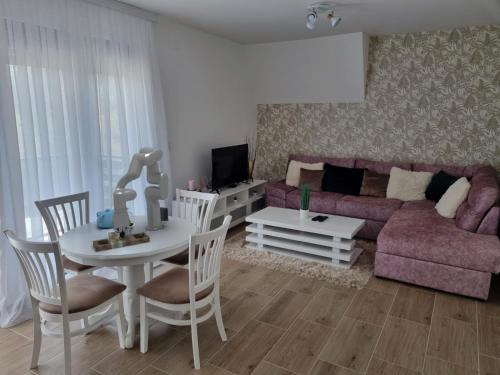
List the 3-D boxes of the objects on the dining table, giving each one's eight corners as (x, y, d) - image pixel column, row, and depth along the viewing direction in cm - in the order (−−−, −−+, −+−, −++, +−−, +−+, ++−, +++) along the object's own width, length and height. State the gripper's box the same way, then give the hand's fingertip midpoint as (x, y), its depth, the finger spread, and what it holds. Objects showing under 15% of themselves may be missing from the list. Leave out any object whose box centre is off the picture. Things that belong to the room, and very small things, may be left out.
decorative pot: (121, 227, 265) (120, 210, 263) (98, 230, 258) (96, 212, 256) (118, 222, 280) (117, 205, 277) (96, 224, 273) (95, 207, 270)
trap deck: (144, 236, 247) (143, 232, 246) (149, 241, 236) (149, 237, 235) (93, 245, 229) (92, 240, 229) (96, 251, 219) (96, 247, 218)
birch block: (116, 238, 233) (116, 231, 232) (119, 241, 228) (118, 233, 227) (108, 240, 231) (108, 232, 230) (110, 242, 226) (110, 235, 225)
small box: (168, 220, 284) (168, 207, 282) (164, 222, 278) (163, 209, 276) (157, 218, 288) (156, 206, 286) (152, 221, 282) (152, 208, 280)
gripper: (130, 207, 236) (132, 233, 239) (106, 210, 228) (109, 237, 231) (133, 210, 229) (135, 237, 233) (109, 213, 222) (111, 241, 225)
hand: (122, 237), depth 232 cm, fingers closed
